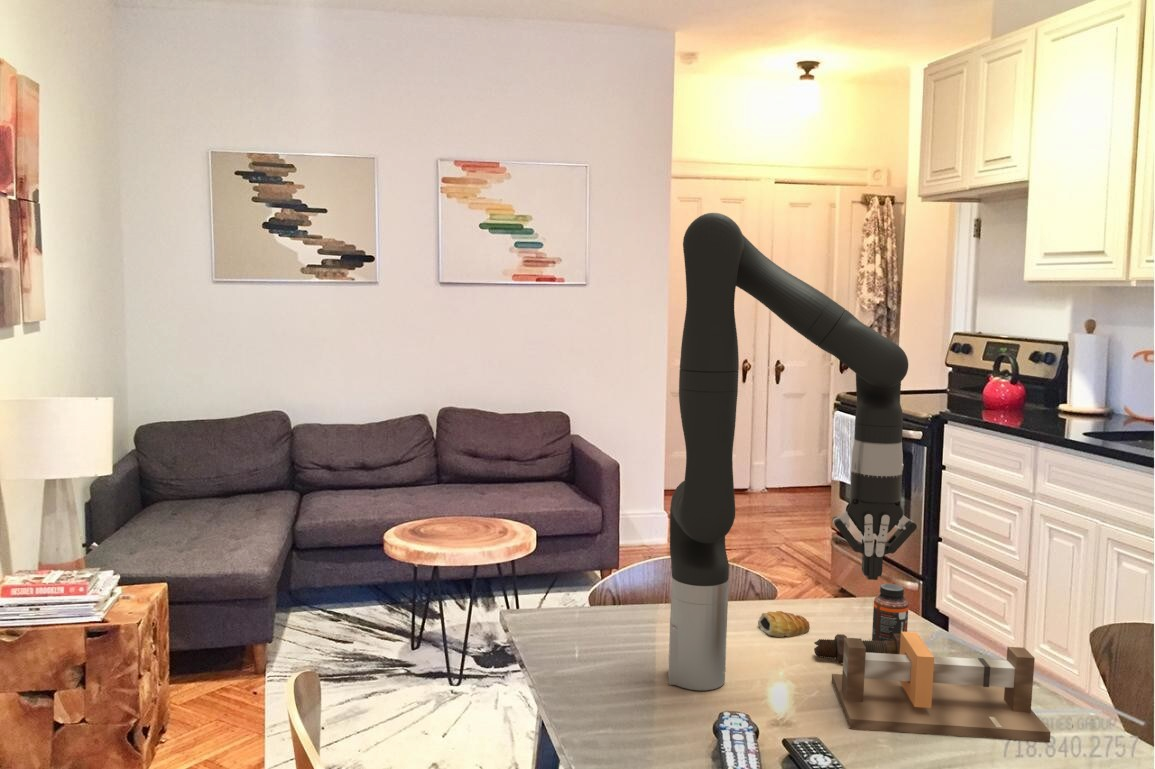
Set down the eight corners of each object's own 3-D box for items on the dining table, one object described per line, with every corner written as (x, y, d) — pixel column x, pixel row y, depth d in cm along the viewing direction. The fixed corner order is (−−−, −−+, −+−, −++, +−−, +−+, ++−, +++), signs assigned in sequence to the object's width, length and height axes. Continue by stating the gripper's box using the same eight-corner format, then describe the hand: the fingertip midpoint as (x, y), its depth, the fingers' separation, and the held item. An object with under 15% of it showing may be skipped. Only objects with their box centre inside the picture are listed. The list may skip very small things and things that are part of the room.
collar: (914, 706, 135) (917, 656, 135) (898, 678, 145) (900, 631, 144) (931, 707, 135) (934, 657, 134) (913, 679, 145) (916, 632, 144)
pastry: (798, 623, 177) (799, 604, 176) (817, 636, 170) (817, 616, 170) (754, 627, 174) (755, 608, 174) (771, 640, 168) (772, 621, 167)
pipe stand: (849, 728, 134) (853, 663, 133) (831, 682, 150) (834, 623, 148) (1049, 741, 131) (1054, 674, 130) (1009, 693, 147) (1013, 633, 146)
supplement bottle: (910, 654, 162) (914, 592, 161) (877, 653, 162) (880, 591, 161) (899, 641, 168) (903, 581, 167) (867, 640, 168) (870, 581, 167)
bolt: (814, 667, 160) (902, 670, 158) (817, 663, 156) (908, 666, 154) (812, 633, 163) (899, 636, 161) (815, 628, 158) (905, 631, 156)
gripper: (914, 466, 144) (908, 572, 146) (828, 463, 145) (824, 569, 147) (927, 475, 137) (921, 588, 138) (837, 472, 138) (832, 584, 140)
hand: (871, 578), depth 143 cm, fingers closed
